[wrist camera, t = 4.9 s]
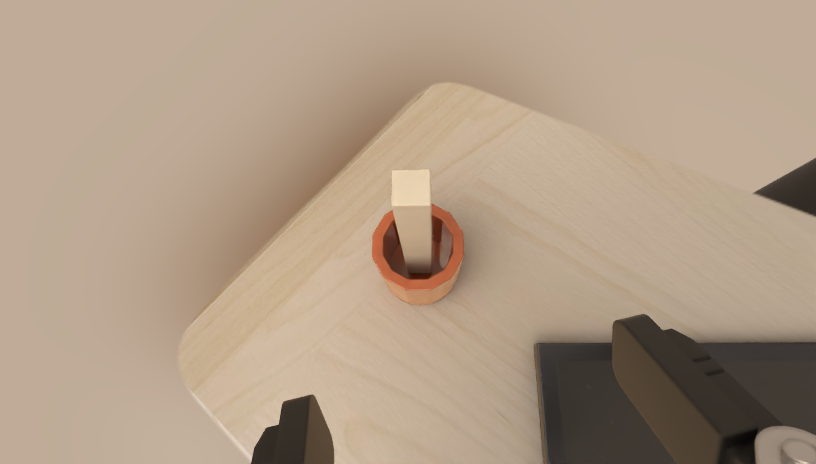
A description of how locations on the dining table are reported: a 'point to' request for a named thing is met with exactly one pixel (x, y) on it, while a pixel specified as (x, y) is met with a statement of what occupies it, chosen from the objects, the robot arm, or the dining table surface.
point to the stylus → (413, 217)
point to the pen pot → (443, 259)
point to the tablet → (623, 424)
